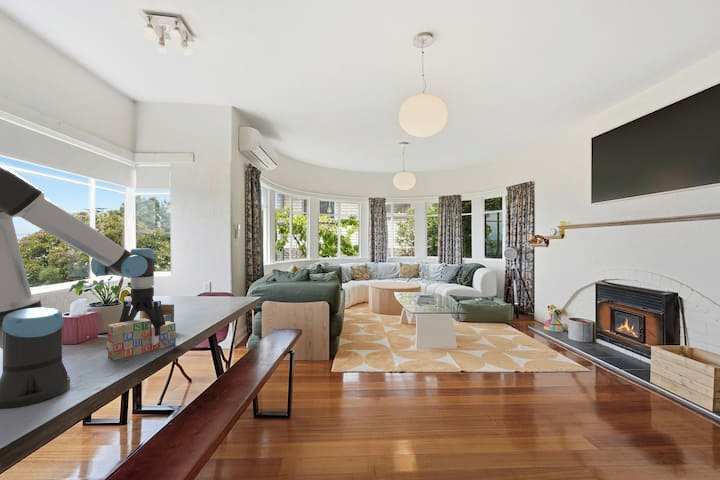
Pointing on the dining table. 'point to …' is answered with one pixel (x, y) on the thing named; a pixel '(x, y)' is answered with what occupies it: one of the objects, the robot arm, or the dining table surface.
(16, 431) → the dining table surface
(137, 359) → the dining table surface
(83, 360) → the dining table surface
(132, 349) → the stack of blocks
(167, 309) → the alphabet block box
